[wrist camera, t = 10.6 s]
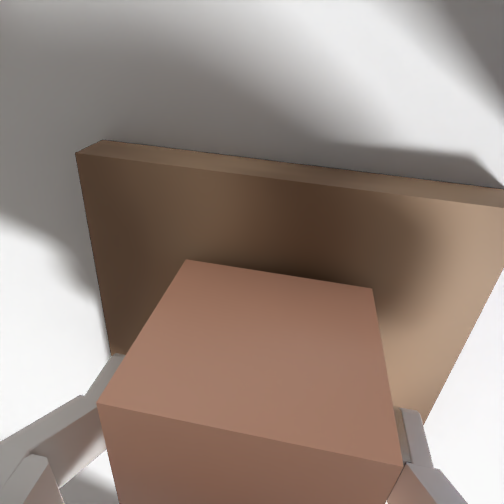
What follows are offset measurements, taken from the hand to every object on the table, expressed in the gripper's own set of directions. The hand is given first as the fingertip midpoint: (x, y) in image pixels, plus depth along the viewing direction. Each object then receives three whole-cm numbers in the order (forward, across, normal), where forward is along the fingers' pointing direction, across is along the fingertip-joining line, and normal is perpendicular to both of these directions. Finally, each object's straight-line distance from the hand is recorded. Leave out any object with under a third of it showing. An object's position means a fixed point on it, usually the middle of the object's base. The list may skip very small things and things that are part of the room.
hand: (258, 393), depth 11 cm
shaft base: (+4, 0, 0) cm, 4 cm away
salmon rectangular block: (+2, 0, 0) cm, 2 cm away
